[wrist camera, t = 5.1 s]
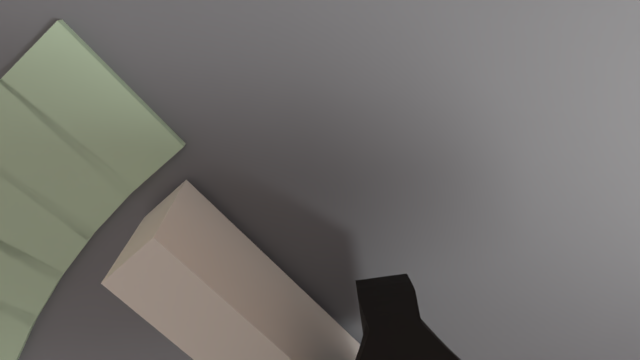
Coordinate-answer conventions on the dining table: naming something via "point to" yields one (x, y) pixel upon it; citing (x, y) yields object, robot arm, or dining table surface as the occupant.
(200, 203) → the cream bar
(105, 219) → the board
